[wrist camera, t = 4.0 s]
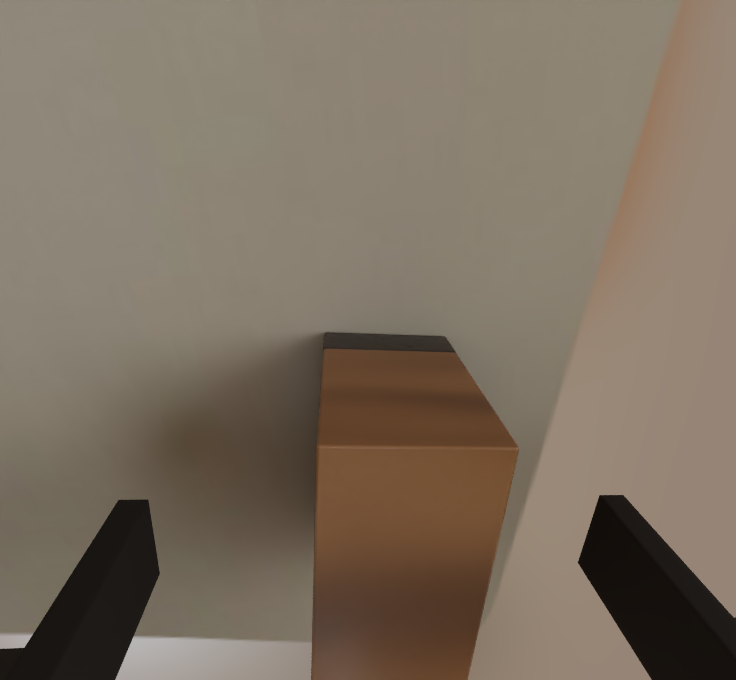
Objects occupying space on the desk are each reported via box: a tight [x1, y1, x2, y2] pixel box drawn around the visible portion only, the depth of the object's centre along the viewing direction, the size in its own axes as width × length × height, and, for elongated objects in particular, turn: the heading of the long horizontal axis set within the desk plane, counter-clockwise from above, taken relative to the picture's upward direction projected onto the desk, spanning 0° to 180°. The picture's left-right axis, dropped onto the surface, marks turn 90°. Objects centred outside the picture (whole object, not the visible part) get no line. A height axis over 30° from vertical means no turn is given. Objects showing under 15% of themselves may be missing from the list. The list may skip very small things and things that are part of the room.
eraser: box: [311, 333, 519, 680], centre depth 14 cm, size 9×4×7 cm, turn 176°
